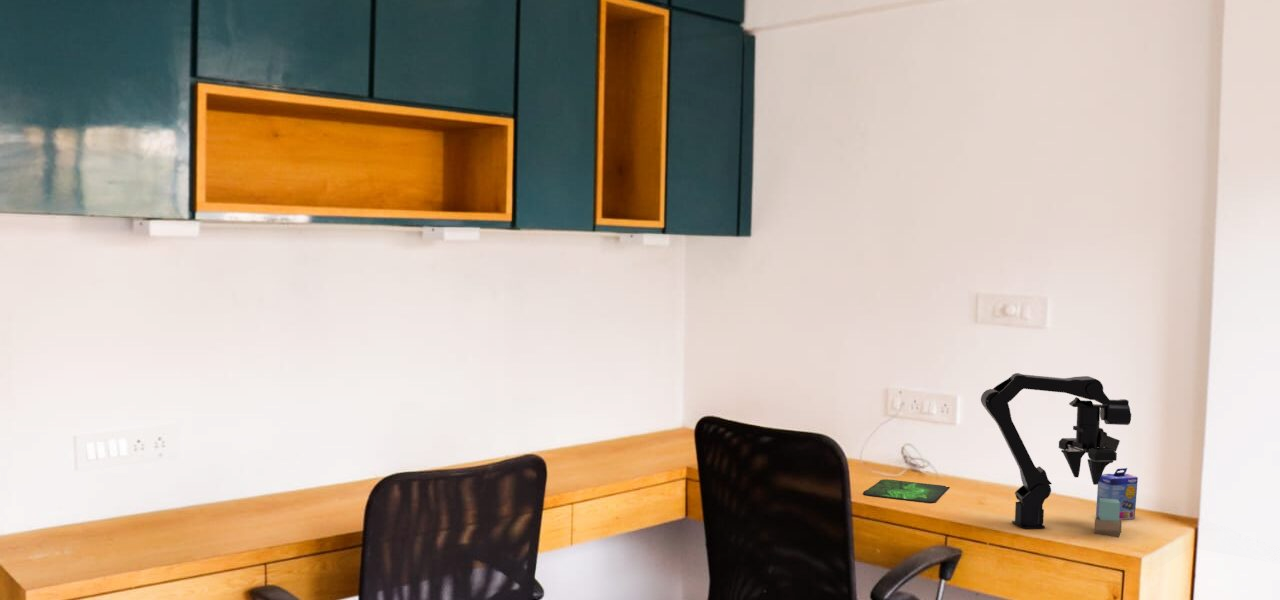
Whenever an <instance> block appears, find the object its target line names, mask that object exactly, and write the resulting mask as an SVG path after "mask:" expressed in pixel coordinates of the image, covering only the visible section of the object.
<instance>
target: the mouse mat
mask: <svg viewBox="0 0 1280 600" xmlns="http://www.w3.org/2000/svg"><path fill="white" fill-rule="evenodd" d="M946 486H947V485H941V484H932V483H923V482H914V481H907V480H905V481H904V480H898V479H897V480H896V479H888V478H887V479H885V478H884V479H880V480H879V481H878V482H876V483H875V484H874V485H872V486H871V487H869V488H867V489H866V490H864V491H863V492H862V494H863V495H864V496H867V497H876V498H884V499H893V500H902V501H911V502H919V503H920V502H921V503H928V504H929V503H931V504H932V503H936V502H937V501H938V500H939V499H940V498H941V497H942V496H943V495H945V493H946V492H948V490H949V489H951V487H950V486H948V487H946Z"/></svg>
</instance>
